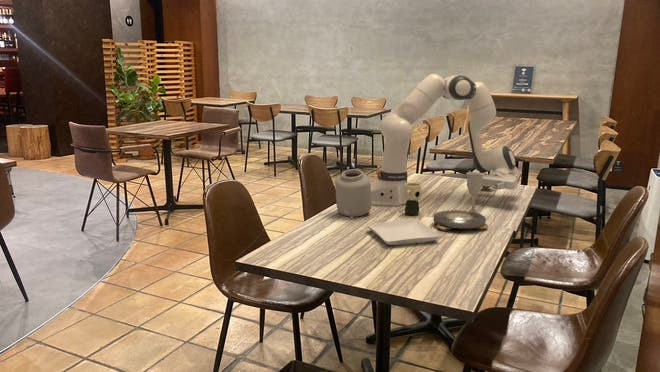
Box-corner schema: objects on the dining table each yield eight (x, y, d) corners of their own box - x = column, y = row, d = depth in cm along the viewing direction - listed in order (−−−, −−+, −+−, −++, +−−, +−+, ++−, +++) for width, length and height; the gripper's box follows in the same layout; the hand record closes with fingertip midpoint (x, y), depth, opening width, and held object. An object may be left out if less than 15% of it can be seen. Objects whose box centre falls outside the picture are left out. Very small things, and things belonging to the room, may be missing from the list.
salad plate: (385, 249, 193) (386, 240, 192) (365, 231, 213) (366, 223, 212) (441, 244, 198) (441, 235, 198) (416, 227, 218) (417, 218, 218)
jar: (361, 222, 223) (362, 161, 217) (328, 218, 228) (327, 159, 223) (375, 210, 240) (376, 154, 234) (343, 207, 245) (344, 151, 240)
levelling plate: (440, 234, 208) (441, 224, 208) (427, 218, 229) (427, 209, 228) (492, 233, 210) (493, 223, 209) (474, 217, 230) (475, 208, 229)
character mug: (414, 218, 229) (415, 187, 226) (398, 215, 233) (399, 185, 230) (424, 212, 238) (425, 182, 235) (409, 209, 242) (410, 180, 239)
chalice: (480, 213, 236) (482, 172, 232) (482, 218, 229) (485, 175, 225) (462, 213, 237) (465, 171, 233) (464, 217, 230) (467, 175, 226)
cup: (495, 192, 273) (496, 176, 272) (480, 191, 274) (481, 176, 272) (491, 188, 281) (492, 173, 279) (476, 188, 281) (477, 172, 279)
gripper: (477, 169, 256) (464, 174, 245) (521, 175, 244) (509, 180, 233) (476, 182, 257) (463, 188, 247) (520, 189, 245) (508, 195, 235)
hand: (486, 184), depth 240 cm, fingers open, 8 cm apart
